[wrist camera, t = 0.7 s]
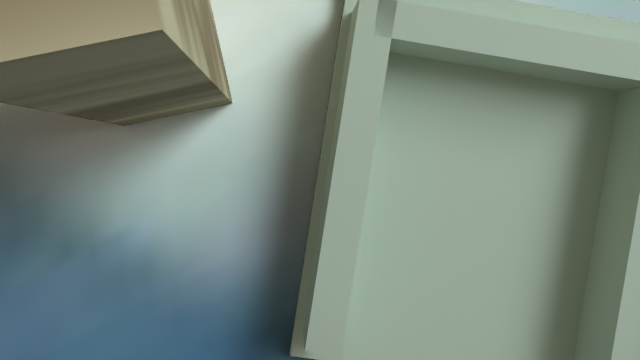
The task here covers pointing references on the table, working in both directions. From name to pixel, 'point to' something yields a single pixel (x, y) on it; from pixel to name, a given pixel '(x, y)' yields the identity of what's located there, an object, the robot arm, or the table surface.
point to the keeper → (476, 187)
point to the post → (111, 58)
